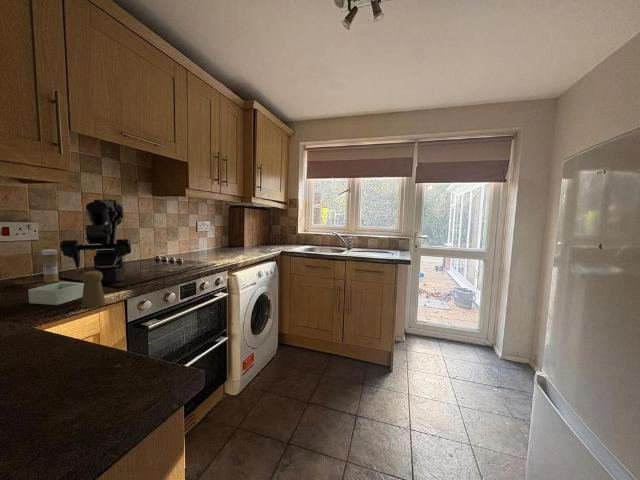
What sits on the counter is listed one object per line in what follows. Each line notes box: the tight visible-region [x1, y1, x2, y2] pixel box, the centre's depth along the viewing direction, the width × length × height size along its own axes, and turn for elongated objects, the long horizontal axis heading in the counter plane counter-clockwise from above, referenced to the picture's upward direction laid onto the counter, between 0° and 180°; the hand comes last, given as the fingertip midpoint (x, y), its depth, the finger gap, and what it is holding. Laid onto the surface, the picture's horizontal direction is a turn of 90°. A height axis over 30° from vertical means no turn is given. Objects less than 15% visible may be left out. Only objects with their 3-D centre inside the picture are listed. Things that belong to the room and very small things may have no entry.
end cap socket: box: [27, 281, 84, 306], centre depth 90 cm, size 10×10×4 cm
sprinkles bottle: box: [41, 249, 60, 283], centre depth 111 cm, size 5×5×14 cm
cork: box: [80, 270, 107, 309], centre depth 85 cm, size 6×6×11 cm
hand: (95, 266), depth 89 cm, fingers open, 9 cm apart
